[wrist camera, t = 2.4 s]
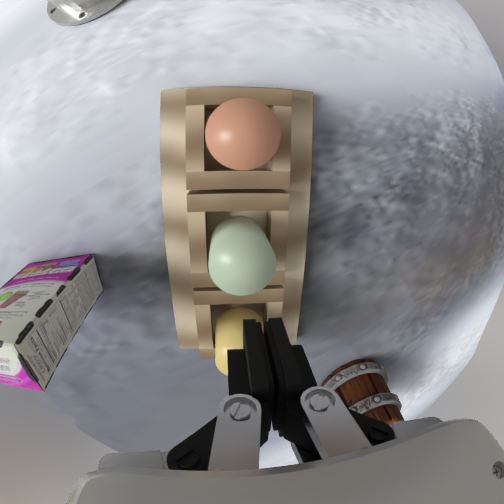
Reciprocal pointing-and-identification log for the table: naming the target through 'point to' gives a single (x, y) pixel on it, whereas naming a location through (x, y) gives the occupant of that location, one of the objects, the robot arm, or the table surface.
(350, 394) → the mug
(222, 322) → the mustard button
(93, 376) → the table surface
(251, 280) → the sage button
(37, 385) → the candy bar box
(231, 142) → the salmon orange rounded piece
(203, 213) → the wooden compartment tray
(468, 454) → the robot arm
